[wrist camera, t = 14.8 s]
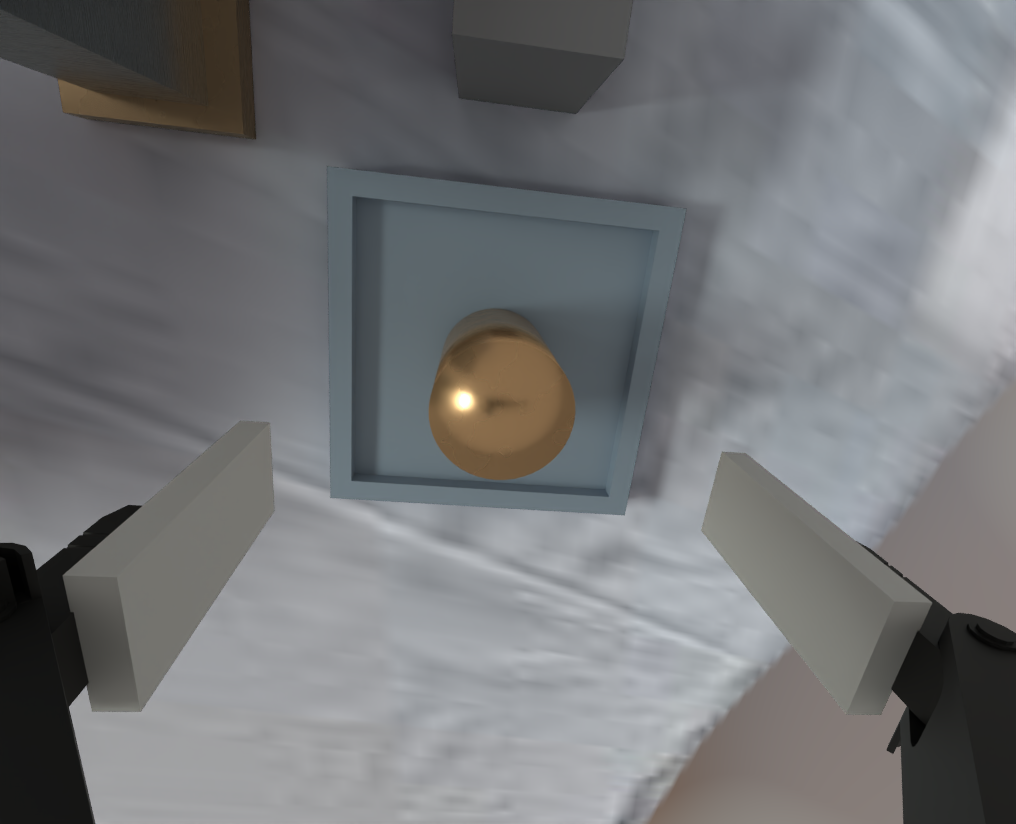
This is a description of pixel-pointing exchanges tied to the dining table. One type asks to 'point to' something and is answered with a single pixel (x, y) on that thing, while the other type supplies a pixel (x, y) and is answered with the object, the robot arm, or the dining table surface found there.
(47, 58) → the box
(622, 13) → the charcoal block
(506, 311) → the copper cylinder
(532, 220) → the slate tray
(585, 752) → the dining table surface
